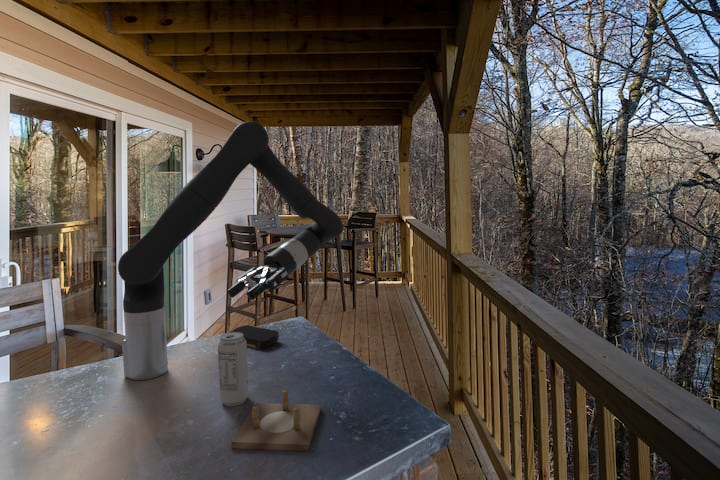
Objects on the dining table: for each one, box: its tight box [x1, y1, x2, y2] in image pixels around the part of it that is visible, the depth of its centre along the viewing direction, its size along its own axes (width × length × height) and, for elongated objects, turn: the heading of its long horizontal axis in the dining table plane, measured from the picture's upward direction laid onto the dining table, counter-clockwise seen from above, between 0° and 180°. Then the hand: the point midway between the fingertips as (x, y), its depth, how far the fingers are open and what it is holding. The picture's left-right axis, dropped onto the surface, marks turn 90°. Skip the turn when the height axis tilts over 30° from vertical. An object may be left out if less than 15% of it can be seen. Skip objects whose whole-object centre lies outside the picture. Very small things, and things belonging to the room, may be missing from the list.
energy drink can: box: [217, 331, 249, 407], centre depth 89 cm, size 6×6×15 cm
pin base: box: [230, 389, 322, 452], centre depth 79 cm, size 14×14×5 cm
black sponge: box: [228, 324, 280, 350], centre depth 127 cm, size 16×8×4 cm, turn 60°
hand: (238, 295), depth 94 cm, fingers open, 8 cm apart
